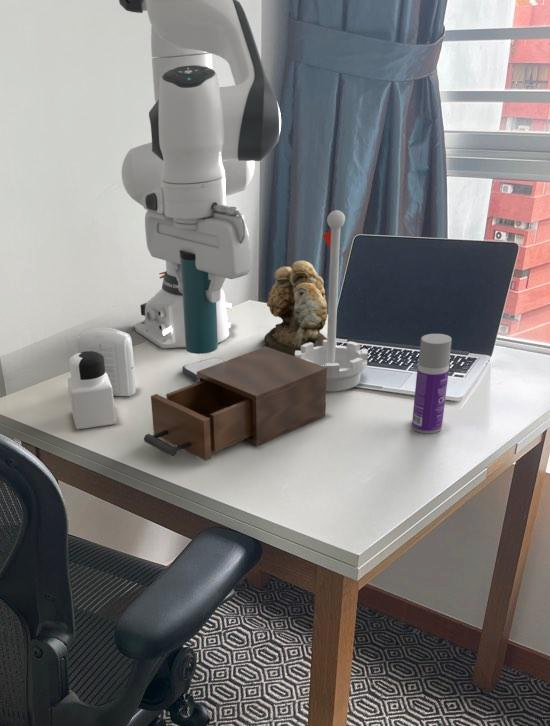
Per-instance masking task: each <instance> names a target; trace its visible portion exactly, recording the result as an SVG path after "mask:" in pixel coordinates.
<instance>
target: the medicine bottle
mask: <svg viewBox="0 0 550 726" xmlns="http://www.w3.org/2000/svg"><path fill="white" fill-rule="evenodd" d="M68 364H69V372H70V377H68V378H67V386H68V387H67V388H68V393H69V400H70V401H69V402H70V406H71V407H70V408H71V413H72V414H71V415H72V417H73V422H74V426H75V429H76V430H83V429H91V428H99V427H105V426H111V425H116V423H117V418H116V409H115V408H116V407H115V402H114V401H115V400H114V395H113V390H112V386H111V383H110V380H109V378H108V375H107V373H106V372H105V363H104V356H103V355H102V354H100V353H98V352H93V351H85V352H80V351H79V352H77V353H75V354H73V355H72V356H71V357H70V358H69V360H68Z"/></svg>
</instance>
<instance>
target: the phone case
mask: <svg viewBox="0 0 550 726" xmlns="http://www.w3.org/2000/svg"><path fill="white" fill-rule="evenodd" d="M224 361H226V360H225V359H222V358H221V357H216V356H215V357H210V358H207V359H203V360H199V361H196V362H192V363H188V364H185V365H183V366H182V368H181V369H182V372H181V373H182V374H183V375H184V376H186V377H188V378H190V379H191V380H193V381H195V382H197V371H200V370H203V369H205V368H208V367H211V366H214V365H216V364H219V363H222V362H224Z"/></svg>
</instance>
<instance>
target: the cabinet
mask: <svg viewBox="0 0 550 726" xmlns="http://www.w3.org/2000/svg"><path fill="white" fill-rule="evenodd" d="M202 380H206V381H209V382H211V383H214V384H216V385H218V386H221V387H223V388H226V389H228V390H230V391H233V392H235V393H238V394H240V395H242V396H245V397H247V398H250V399H252V404H253V436H251V437H248V438H246V439H244V440H243V441H244V442H247V443H248V444H250V445H253V446H255V447H258V446H261V445H263V444H265V443H268V442H270V441H272V440H274V439H277V438H279V437H281V436H283V435H286V434H288V433H291V432H293V431H295V430H297V429H300V428H302V427H305V426H306V425H309V424H311V423H313V422H316V421H318V420H320V419H322V418H326V412H327V411H326V407H327V406H326V405H327V391H326V385H327V367H324V366H321V365H318V364H315V363H312V362H309V361H306V360H303V359H301V358H298V357H295V356H292V355H289V354H286V353H283V352H280V351H277V350H275V349H272V348H269V347H266V346H265V345H264V346H262V347H260V348H257V349H255V350H252V351H248V352H246V353H244V354H241V355H238V356H236V357H233V358H230V359H227V360H225V361H224V362H222V363H219V364H216V365H214V366H211V367H208V368H205V369H203V370H200V371H197V381H196V383H197V382H200V381H202Z"/></svg>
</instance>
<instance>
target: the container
mask: <svg viewBox="0 0 550 726" xmlns="http://www.w3.org/2000/svg"><path fill="white" fill-rule="evenodd" d="M452 340H453V339H452V337H451V336H449V335H447V334H444V333H428V334H424V335H423V336H421V338H420V346H419V353H418V361H417V368H416V380H415V388H414V399H413V408H412V409H413V410H412V417H411V419H412V420H411V428H412V430H413V431H415V432H416V433H419V434H425V435H426V434H427V435H428V434H429V435H430V434H436V433H439V432H440V431H442V428H443V422H444V421H443V420H444V412H445V404H446V396H447V389H448V388H447V387H448V380H449V371H450V361H451V351H452V350H451V349H452V342H453V341H452Z"/></svg>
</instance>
